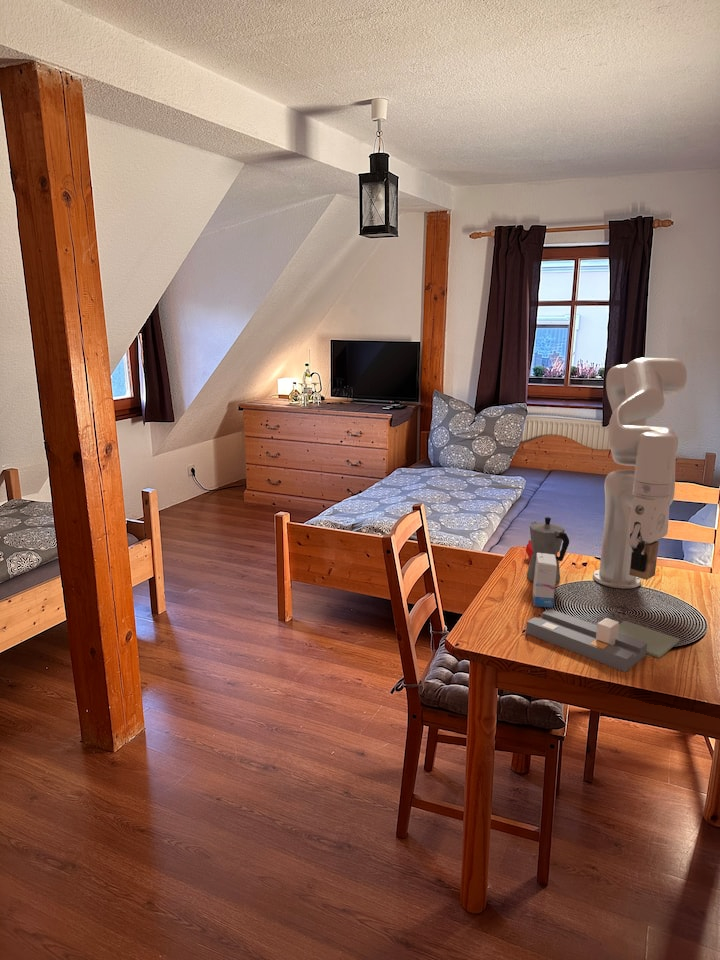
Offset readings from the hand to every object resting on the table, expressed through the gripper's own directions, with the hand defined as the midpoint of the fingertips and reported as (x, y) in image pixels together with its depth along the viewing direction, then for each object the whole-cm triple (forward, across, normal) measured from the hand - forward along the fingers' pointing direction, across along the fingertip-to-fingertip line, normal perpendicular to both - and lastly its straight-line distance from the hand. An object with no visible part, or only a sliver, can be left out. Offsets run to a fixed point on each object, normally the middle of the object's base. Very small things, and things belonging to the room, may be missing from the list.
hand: (642, 566), depth 151 cm
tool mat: (+18, 0, -1) cm, 18 cm away
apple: (+17, +27, +43) cm, 54 cm away
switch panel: (+18, -11, +6) cm, 22 cm away
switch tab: (+16, -11, +1) cm, 19 cm away
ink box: (+18, +2, +26) cm, 31 cm away
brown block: (+2, 0, 0) cm, 2 cm away
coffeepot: (+17, +15, +33) cm, 40 cm away
